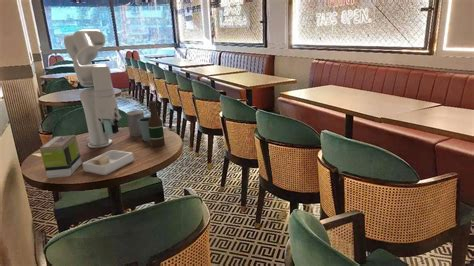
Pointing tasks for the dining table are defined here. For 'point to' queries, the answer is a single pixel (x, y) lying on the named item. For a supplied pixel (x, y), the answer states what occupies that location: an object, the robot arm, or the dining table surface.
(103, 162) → the maple cube
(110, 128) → the teal cylinder
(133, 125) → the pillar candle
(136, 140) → the dining table surface
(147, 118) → the drinking glass
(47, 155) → the tea box
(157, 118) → the beer bottle
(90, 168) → the white tray
